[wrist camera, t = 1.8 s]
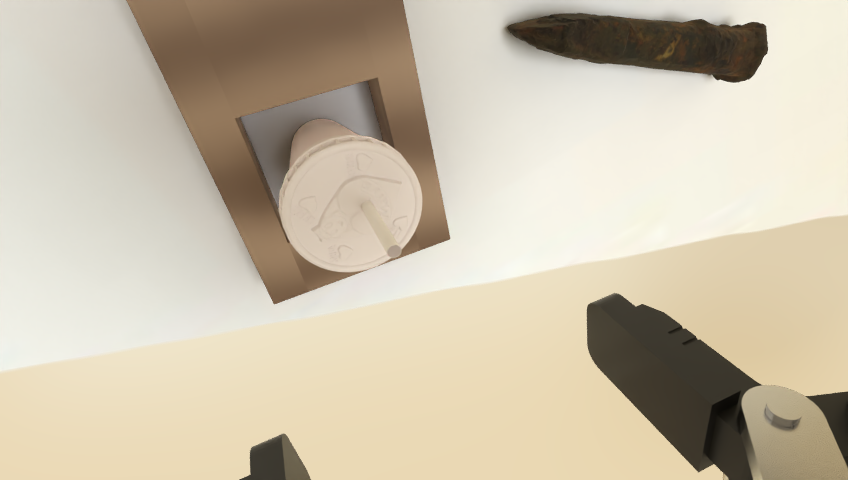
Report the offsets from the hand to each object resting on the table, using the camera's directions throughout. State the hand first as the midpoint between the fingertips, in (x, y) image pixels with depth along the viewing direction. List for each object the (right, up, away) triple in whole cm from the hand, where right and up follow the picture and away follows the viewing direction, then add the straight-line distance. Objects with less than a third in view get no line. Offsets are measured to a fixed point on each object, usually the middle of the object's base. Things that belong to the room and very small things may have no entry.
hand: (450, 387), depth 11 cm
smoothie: (-7, +9, +17) cm, 21 cm away
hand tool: (+13, +17, +21) cm, 30 cm away
